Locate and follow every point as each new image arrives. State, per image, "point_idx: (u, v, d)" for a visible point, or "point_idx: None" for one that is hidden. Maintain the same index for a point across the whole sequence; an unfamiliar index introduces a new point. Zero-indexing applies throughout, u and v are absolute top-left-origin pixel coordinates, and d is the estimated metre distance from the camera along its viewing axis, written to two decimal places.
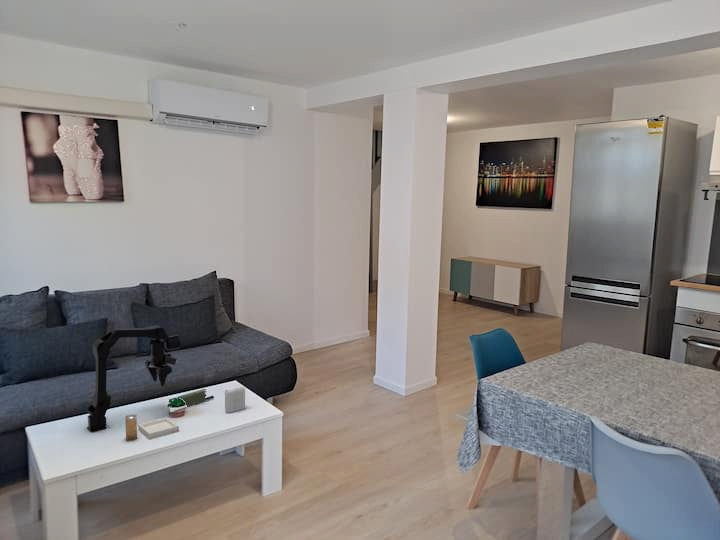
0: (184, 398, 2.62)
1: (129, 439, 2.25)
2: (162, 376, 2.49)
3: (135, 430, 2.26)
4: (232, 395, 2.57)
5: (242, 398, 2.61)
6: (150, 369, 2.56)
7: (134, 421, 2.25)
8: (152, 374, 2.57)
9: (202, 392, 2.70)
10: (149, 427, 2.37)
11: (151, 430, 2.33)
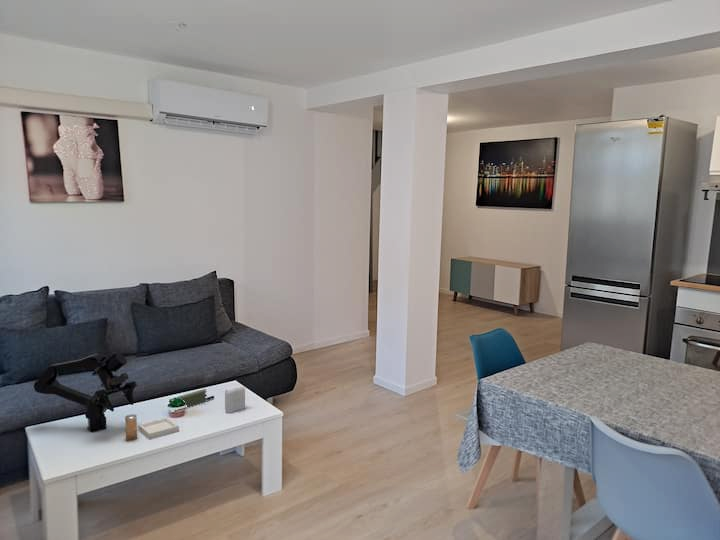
0: (184, 398, 2.62)
1: (129, 439, 2.25)
2: (105, 402, 2.26)
3: (135, 430, 2.26)
4: (232, 395, 2.57)
5: (242, 398, 2.61)
6: (125, 395, 2.36)
7: (134, 421, 2.25)
8: (128, 399, 2.34)
9: (202, 392, 2.69)
10: (149, 427, 2.37)
11: (151, 430, 2.33)
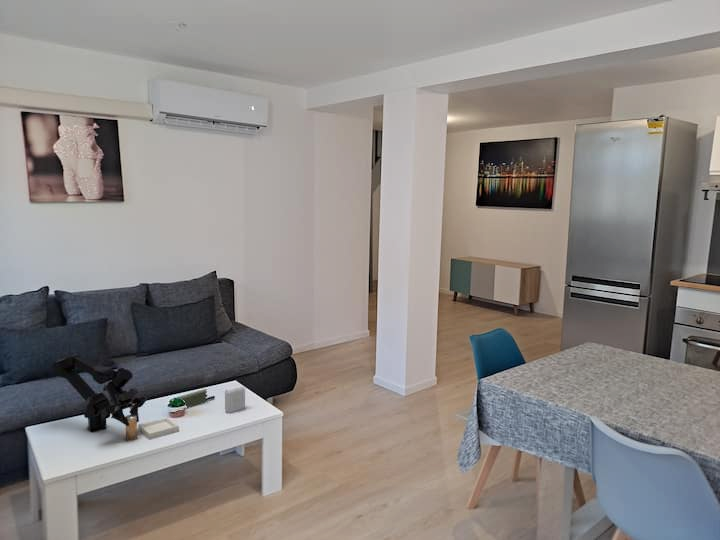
0: (185, 398, 2.61)
1: (129, 439, 2.25)
2: (119, 416, 2.24)
3: (135, 430, 2.26)
4: (233, 395, 2.57)
5: (242, 398, 2.61)
6: (130, 411, 2.31)
7: (134, 421, 2.25)
8: None
9: (203, 392, 2.69)
10: (149, 427, 2.37)
11: (151, 430, 2.33)
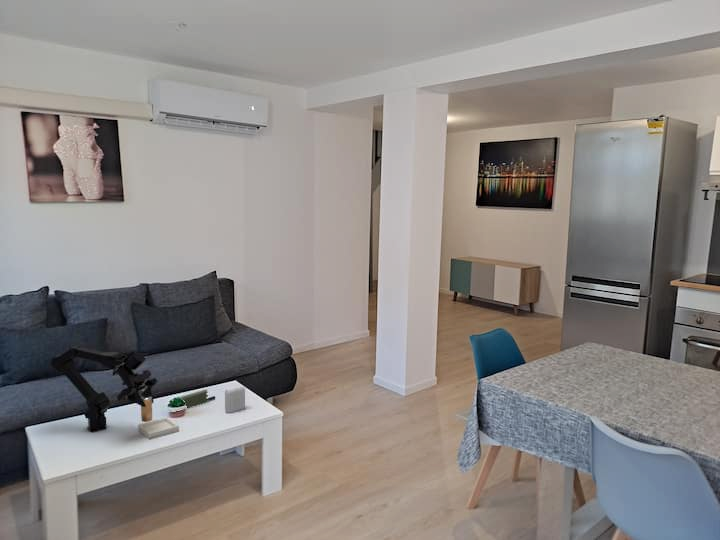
0: (185, 399, 2.61)
1: (145, 420, 2.28)
2: (135, 398, 2.27)
3: (151, 411, 2.30)
4: (233, 395, 2.57)
5: (242, 398, 2.61)
6: (143, 393, 2.33)
7: (150, 402, 2.29)
8: None
9: (203, 393, 2.69)
10: (149, 427, 2.37)
11: (151, 430, 2.33)
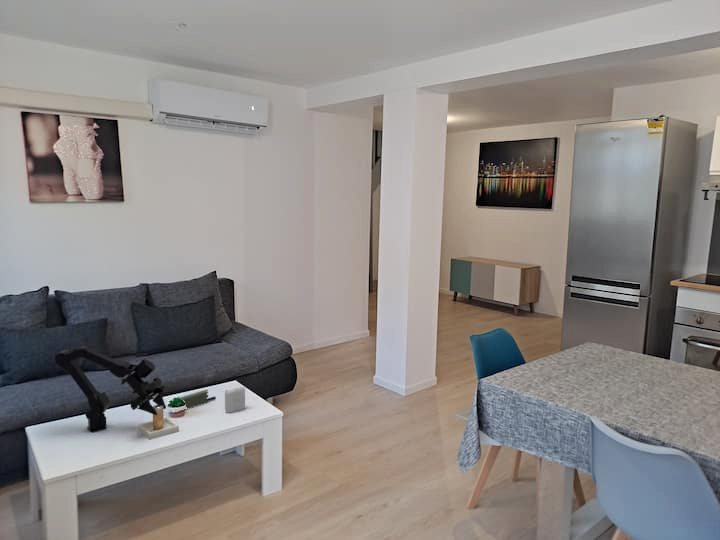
0: (186, 399, 2.61)
1: (158, 428, 2.33)
2: (146, 407, 2.30)
3: None
4: (232, 395, 2.57)
5: (242, 398, 2.61)
6: (154, 400, 2.39)
7: (162, 410, 2.35)
8: (158, 404, 2.38)
9: (204, 393, 2.69)
10: (149, 427, 2.37)
11: (151, 430, 2.33)
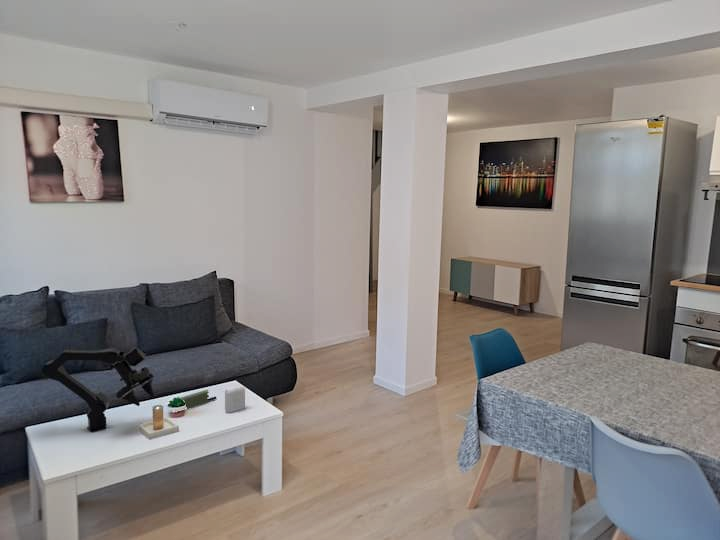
0: (186, 399, 2.60)
1: (158, 428, 2.33)
2: (130, 397, 2.31)
3: (162, 419, 2.35)
4: (233, 395, 2.57)
5: (242, 398, 2.61)
6: (143, 387, 2.42)
7: (162, 411, 2.34)
8: (147, 391, 2.41)
9: (204, 393, 2.68)
10: (149, 427, 2.37)
11: (151, 430, 2.33)
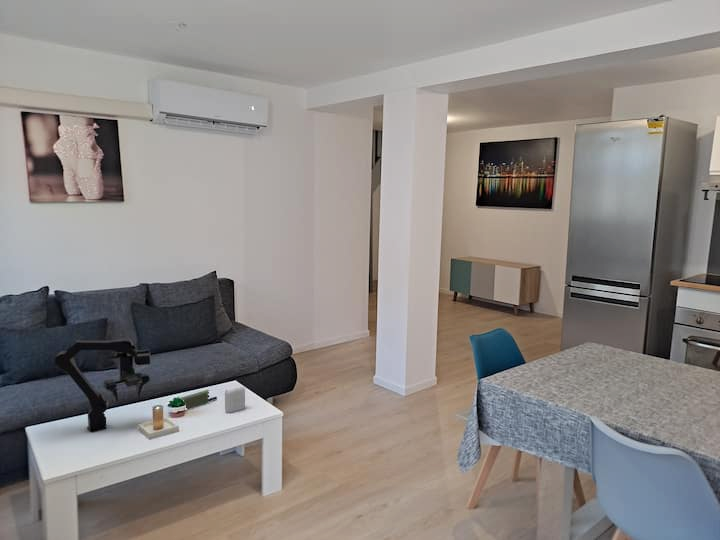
0: (187, 399, 2.60)
1: (158, 428, 2.33)
2: (113, 391, 2.36)
3: (162, 419, 2.35)
4: (232, 395, 2.57)
5: (242, 398, 2.61)
6: None
7: (162, 411, 2.34)
8: (136, 388, 2.44)
9: (205, 393, 2.68)
10: (149, 427, 2.37)
11: (151, 430, 2.33)
